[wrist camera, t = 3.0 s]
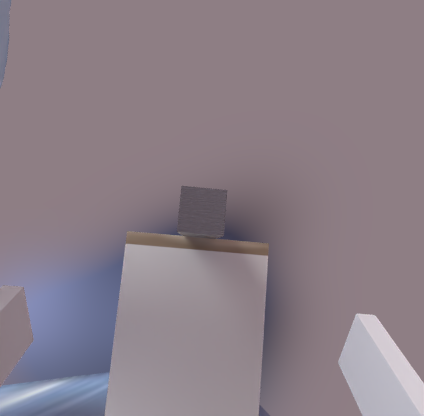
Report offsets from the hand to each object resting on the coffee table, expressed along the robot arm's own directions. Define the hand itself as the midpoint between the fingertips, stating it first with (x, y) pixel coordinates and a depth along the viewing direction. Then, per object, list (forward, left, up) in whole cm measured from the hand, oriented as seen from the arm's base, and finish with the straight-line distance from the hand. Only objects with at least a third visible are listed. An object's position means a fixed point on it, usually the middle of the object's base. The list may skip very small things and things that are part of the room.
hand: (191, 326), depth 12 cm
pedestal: (-12, +21, -26) cm, 36 cm away
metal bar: (-10, +17, +4) cm, 20 cm away
